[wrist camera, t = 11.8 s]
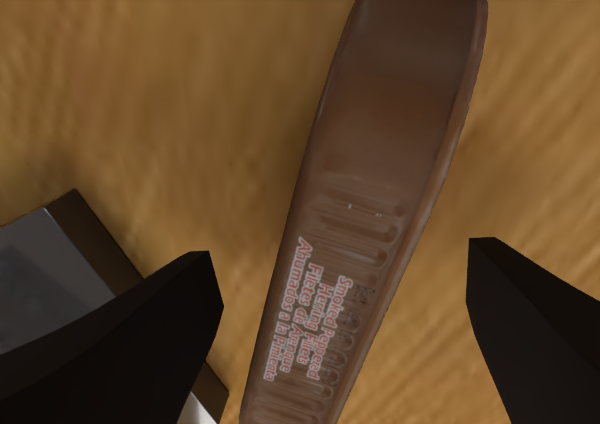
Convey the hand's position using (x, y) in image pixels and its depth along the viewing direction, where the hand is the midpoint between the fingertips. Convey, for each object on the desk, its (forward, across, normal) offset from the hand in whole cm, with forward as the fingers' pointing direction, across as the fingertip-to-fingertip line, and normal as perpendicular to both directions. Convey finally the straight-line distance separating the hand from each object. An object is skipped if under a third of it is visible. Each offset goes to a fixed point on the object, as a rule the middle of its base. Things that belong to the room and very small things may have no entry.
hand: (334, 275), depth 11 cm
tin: (+6, 0, 0) cm, 6 cm away
